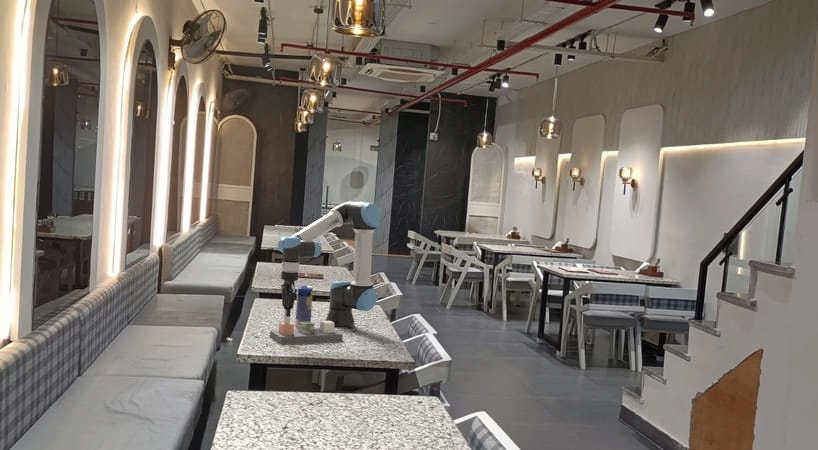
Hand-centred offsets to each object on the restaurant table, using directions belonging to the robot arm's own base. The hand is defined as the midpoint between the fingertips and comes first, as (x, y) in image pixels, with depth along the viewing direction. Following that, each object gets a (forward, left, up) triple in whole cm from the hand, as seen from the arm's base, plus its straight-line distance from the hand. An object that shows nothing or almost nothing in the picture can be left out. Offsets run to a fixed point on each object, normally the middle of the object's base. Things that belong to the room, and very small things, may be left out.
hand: (286, 322), depth 323 cm
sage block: (-10, 0, -5) cm, 11 cm away
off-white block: (-20, 0, -5) cm, 21 cm away
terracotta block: (0, 0, -5) cm, 5 cm away
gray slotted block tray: (-10, 0, -9) cm, 13 cm away
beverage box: (-15, -17, -9) cm, 25 cm away
